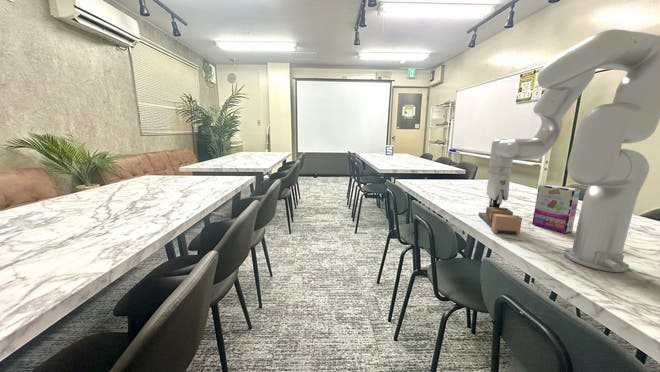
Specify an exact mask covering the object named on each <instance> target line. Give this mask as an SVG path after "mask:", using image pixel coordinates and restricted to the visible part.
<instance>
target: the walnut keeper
mask: <svg viewBox="0 0 660 372" xmlns="http://www.w3.org/2000/svg"><path fill="white" fill-rule="evenodd" d="M485 213H486V216H485V219H486V220H487V221H488V222H489V223H492V220H493V214H503V215H514V212H513V211H512V210H510V209H509V208H507V207H489V206H486V210H485Z"/></svg>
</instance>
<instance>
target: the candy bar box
mask: <svg viewBox="0 0 660 372" xmlns="http://www.w3.org/2000/svg"><path fill="white" fill-rule="evenodd" d="M580 194H581V188H576V187H575V188H574V187H569V186H562V185H561V186H560V185H553V184H539V185H538V189H537V193H536V200H535V207H534V212H533V217H532V225H534V226H537V227H540V228H544V229H548V230H552V231H556V232H559V233H562V234H568V233H572V232H573V229H574V228H573V227H574V224H575V217H576V214H577V208H578V203H579V200H580Z"/></svg>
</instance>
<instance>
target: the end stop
mask: <svg viewBox="0 0 660 372" xmlns="http://www.w3.org/2000/svg"><path fill="white" fill-rule="evenodd" d="M522 221H523V218H522V217H521V216H520V215H516V214H515V215H514V214H513V215H503V214H493V220H492V227H490V231H491V232H492V233H493V234H495V235H496V234H497V232H498V231H497V230H499V233H500V230H506V231H502V232H503V233H502V232H501V233H500V234H499V233H498V235H506V232H507V231H508V232H509V231H510V232H511V233H512V231H513V233H514V231H517V232H516V233H514V235H513V236H515V237H516V236H518V237H519V236H520V235H521V234H520V233H521V228H522ZM504 232H505V233H504ZM511 233H508V236H512V235H511ZM513 233H512V234H513ZM509 234H510V235H509ZM515 234H516V235H515Z"/></svg>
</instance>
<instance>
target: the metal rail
mask: <svg viewBox="0 0 660 372" xmlns="http://www.w3.org/2000/svg"><path fill="white" fill-rule="evenodd" d="M485 216H486V212H478V217H479V218H480V219H482V221H483V222H484V223H486V224H487V226H488V227H490V228H491V227H492V223H489V222H488V221H487V220H486V219H485ZM497 231H498V232H497V234H498V233H499V230H497ZM502 231H506V230H500V233H501V232H502ZM516 232H517V231H514V233H516ZM500 233H499V234H498V235H501V234H500ZM502 233H503V232H502ZM504 233H505V232H504ZM508 233H511V232H510V231H509V232H508V231H507V232H506V234H505V235H508ZM512 233H513V231H512ZM512 233H511V235H510V234H509V235H508V236H516V234H515V235H514V233H513V234H512Z"/></svg>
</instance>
